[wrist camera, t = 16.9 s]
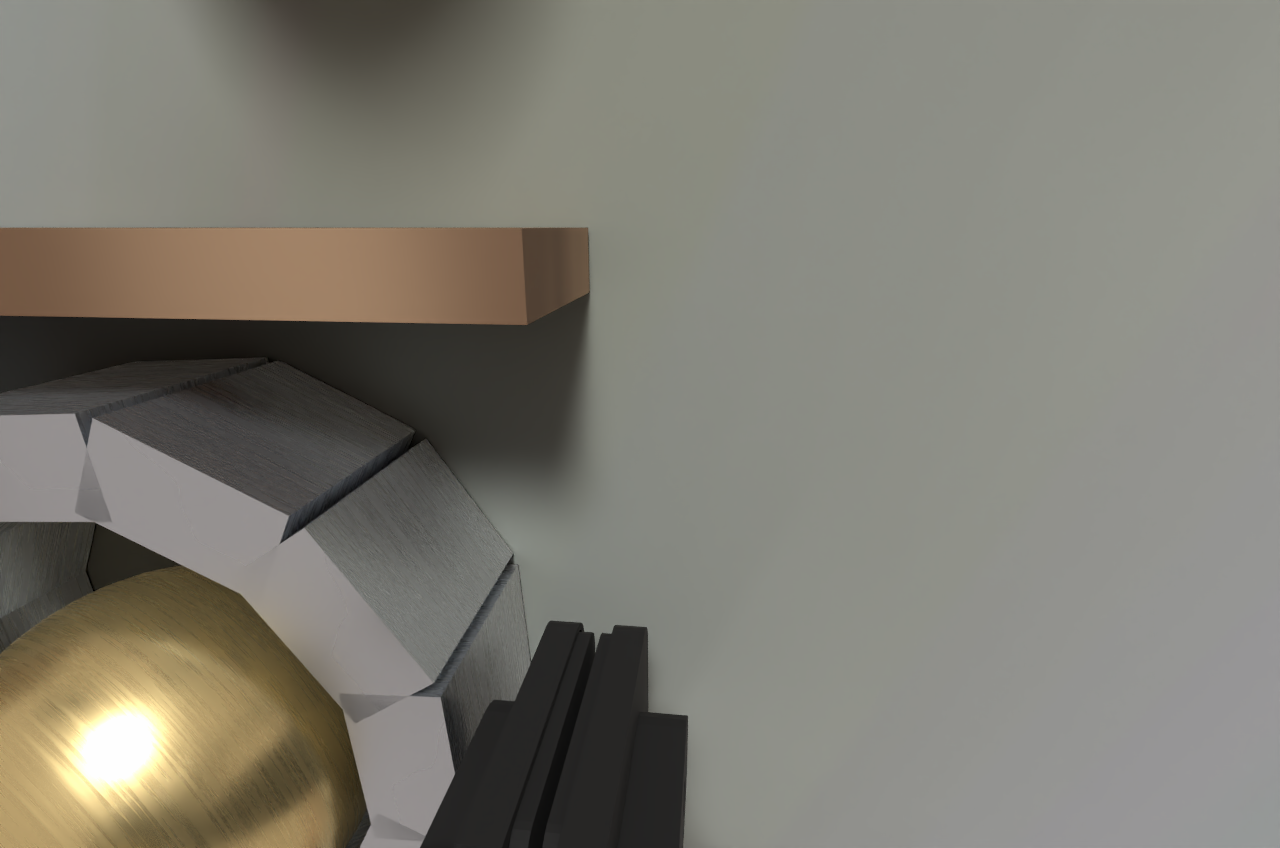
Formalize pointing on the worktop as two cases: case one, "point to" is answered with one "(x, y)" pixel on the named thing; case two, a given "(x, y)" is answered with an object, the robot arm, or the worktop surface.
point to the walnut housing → (294, 273)
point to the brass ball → (169, 727)
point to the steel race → (280, 546)
